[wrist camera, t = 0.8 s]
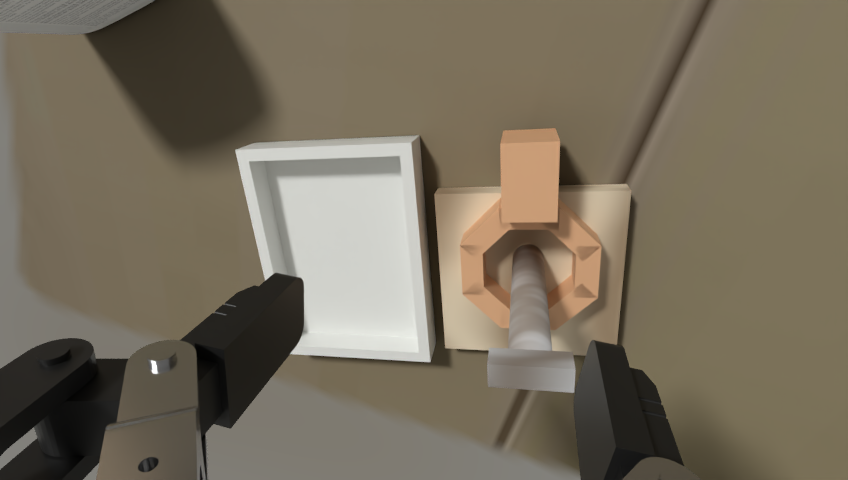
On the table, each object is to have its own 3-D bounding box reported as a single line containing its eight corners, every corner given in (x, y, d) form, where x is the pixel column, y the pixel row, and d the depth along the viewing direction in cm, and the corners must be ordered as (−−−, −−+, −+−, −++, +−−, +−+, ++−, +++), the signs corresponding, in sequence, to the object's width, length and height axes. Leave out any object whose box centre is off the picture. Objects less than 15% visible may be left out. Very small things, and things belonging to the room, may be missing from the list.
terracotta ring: (604, 126, 27) (616, 138, 23) (591, 315, 31) (600, 350, 28) (458, 132, 28) (449, 145, 25) (467, 310, 33) (460, 343, 30)
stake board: (626, 184, 29) (702, 287, 17) (612, 344, 34) (663, 520, 21) (438, 187, 32) (383, 280, 19) (448, 336, 36) (408, 489, 24)
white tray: (419, 135, 30) (411, 142, 28) (436, 342, 37) (430, 362, 34) (254, 142, 33) (235, 149, 31) (295, 335, 39) (282, 353, 37)
